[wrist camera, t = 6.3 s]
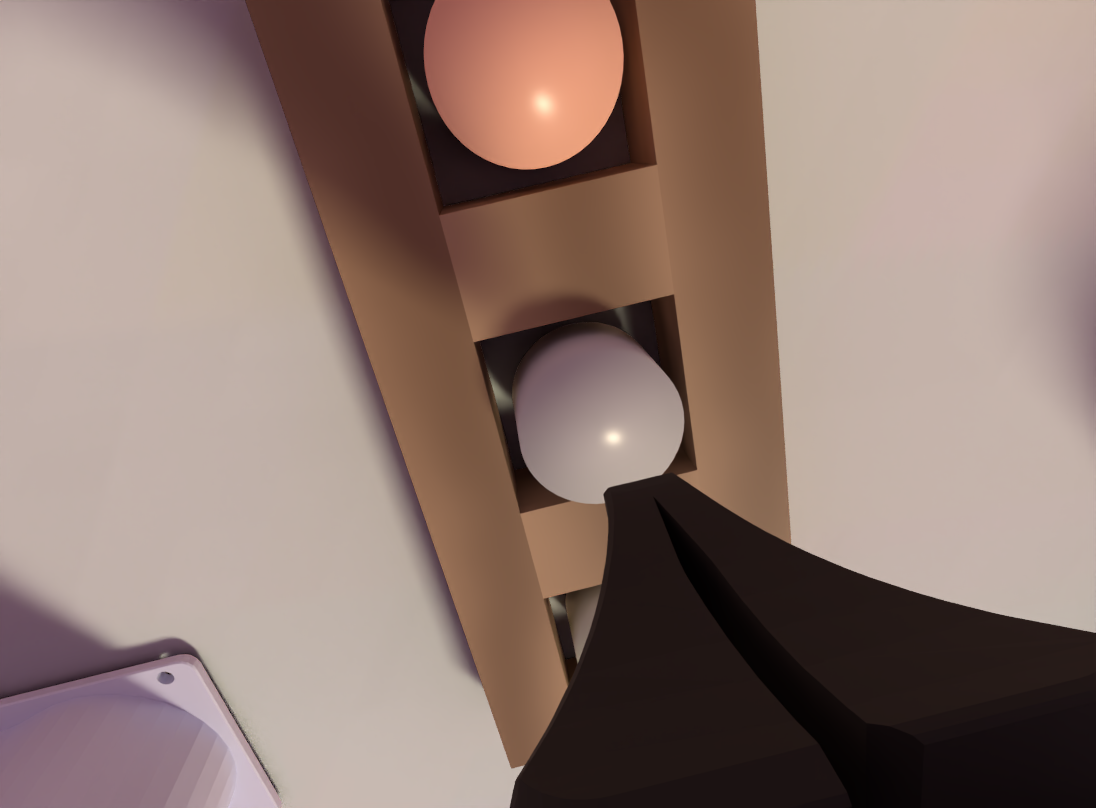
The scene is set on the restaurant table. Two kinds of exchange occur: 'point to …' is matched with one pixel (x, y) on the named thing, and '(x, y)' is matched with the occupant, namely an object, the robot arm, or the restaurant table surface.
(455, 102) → the terracotta button
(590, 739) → the robot arm
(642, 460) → the grey button
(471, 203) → the panel
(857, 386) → the restaurant table surface
